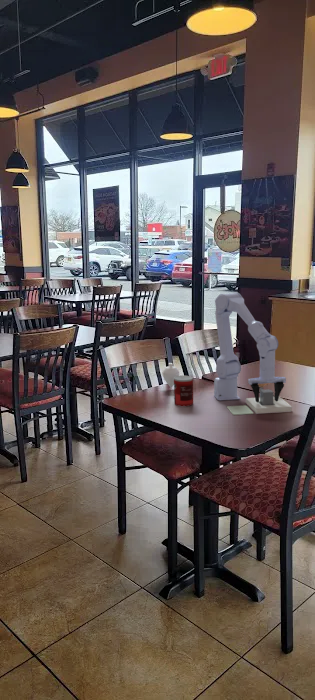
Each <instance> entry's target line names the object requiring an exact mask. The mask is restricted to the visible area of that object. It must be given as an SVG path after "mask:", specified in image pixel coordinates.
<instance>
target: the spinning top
mask: <svg viewBox="0 0 315 700" xmlns="http://www.w3.org/2000/svg"><path fill="white" fill-rule="evenodd" d="M176 376H180V370H179V369H178V367H176V366H174V364H173V363H172V362H168V366H166V367H164V369H163V370H162V377H163V380H164V381H165V383H166V384H167V385H168V386H169V387H170V390H172V387H174V377H176Z"/></svg>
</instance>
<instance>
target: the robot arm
mask: <svg viewBox="0 0 315 700" xmlns="http://www.w3.org/2000/svg"><path fill="white" fill-rule="evenodd" d="M214 304H215V313H214V314H215V322H216V328H217V329H216V330H217V337H218V344H219V353H220V355H219V356H218V358H217V359H216V362H215V363H216V366H215V371H216V372H215V373H216V375H217V376H218V377H215V378H214V380H213V381H214V382H213V387H214V388H213V389H214V391H213V396H214V397H215V399H216V400H217V401H231V400H240V399H241V397H240V396H239V395H238V377H239V374H240V373H241V371H242V365H241V363H240V361H239V357H238V355H236V354H235V351H234V345H233V338H232V330H231V322H230V315H232V313H233V312H234V313H237V314H238V316H239V317H240V318H241V319H242V321H244V323H245V324H246V325H247V331H248V333H249V334H250V336H251V337H252V338H253V339H254V341H255V342H256V348H257V350H258V355H259V377H254V378H253V377H251V378H247V380H248V381H247V383H248V385H250V387H251V390H252V391H253V392H252V393H253V394H254V398H255V400H256V402H259V398H260V386H259V384H264V383H271V384H273V386H274V387H273V389H274V393H273V397H274V399H275V401H278V398H279V397H280V395H281V393H282V390H283V388H284V387H285V384H286V383H287V378H286V377H285V376H276V374H275V373H276V372H275V371H276V368H275V367H276V350H278V347H279V340H278V339H277V336H275V335H272V334H271V333H270V332H268V330H267V329H266V327H264V324H263V322H261V321H258V320H256V319H255V318H254V316H253V315H252V313H251V312H250V310H249V309H248V307H247V306H246V305H247V304H245V298H244V297H243V296H242V295H241V293H239V292H237V291H235V292H231V293H220V294H218V296H217V297H216V298H215V300H214Z"/></svg>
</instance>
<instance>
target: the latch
mask: <svg viewBox="0 0 315 700" xmlns="http://www.w3.org/2000/svg"><path fill="white" fill-rule="evenodd" d="M271 384H272V383H264V384H258V385H259V387H263V388H265V386H268V385H271Z"/></svg>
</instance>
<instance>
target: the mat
mask: <svg viewBox="0 0 315 700" xmlns="http://www.w3.org/2000/svg"><path fill="white" fill-rule="evenodd" d="M226 408H227V409H228V410H229V412H230V413H231V414H232V416H240V415H243V416H244V415H253V414H255V412H254V411H253V410H252V409H251V408H250V407H249V406H248V405H231V406H230V405H229V406H226Z"/></svg>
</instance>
